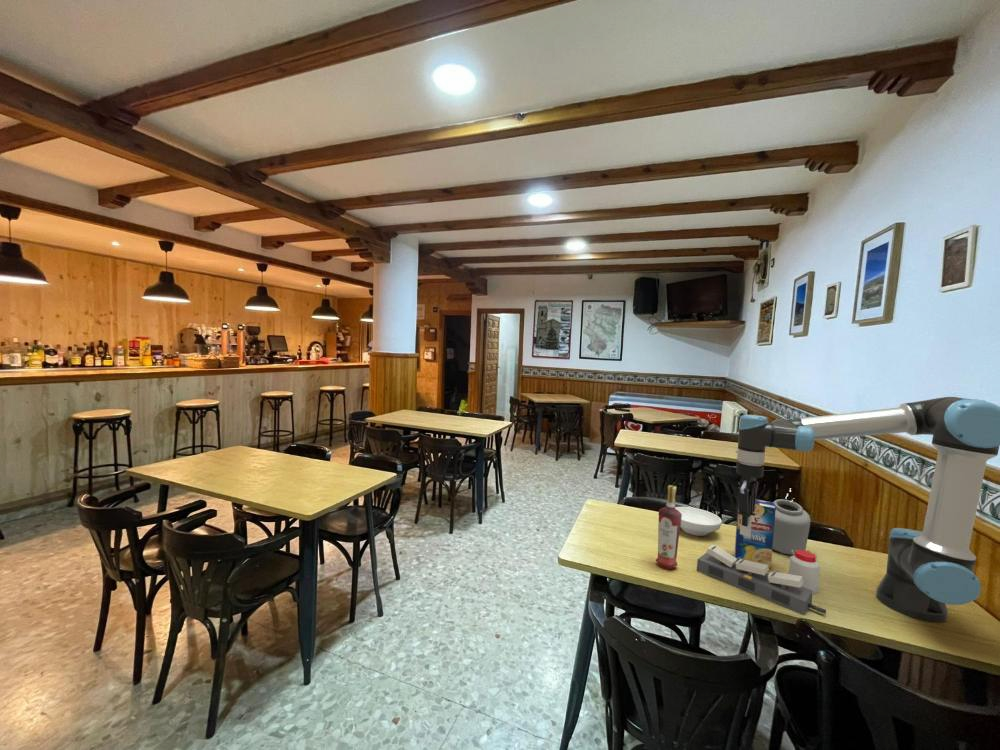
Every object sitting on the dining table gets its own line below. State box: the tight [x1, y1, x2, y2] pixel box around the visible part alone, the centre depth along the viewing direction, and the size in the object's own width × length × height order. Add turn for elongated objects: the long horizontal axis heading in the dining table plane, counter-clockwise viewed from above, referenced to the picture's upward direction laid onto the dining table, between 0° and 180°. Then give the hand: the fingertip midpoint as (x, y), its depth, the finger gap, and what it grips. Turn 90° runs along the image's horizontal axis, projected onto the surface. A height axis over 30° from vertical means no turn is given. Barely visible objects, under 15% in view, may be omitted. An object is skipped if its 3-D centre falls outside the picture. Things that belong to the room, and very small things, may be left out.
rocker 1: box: [706, 544, 737, 567], centre depth 136 cm, size 8×4×2 cm, turn 42°
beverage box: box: [733, 498, 776, 571], centre depth 145 cm, size 7×11×22 cm, turn 61°
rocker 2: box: [736, 559, 770, 575], centre depth 129 cm, size 8×4×2 cm, turn 42°
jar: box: [772, 488, 811, 556], centre depth 156 cm, size 19×15×25 cm
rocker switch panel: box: [696, 552, 827, 616], centre depth 128 cm, size 34×9×5 cm, turn 42°
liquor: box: [655, 484, 682, 570], centre depth 139 cm, size 7×7×28 cm
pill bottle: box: [788, 549, 821, 594], centre depth 130 cm, size 8×8×11 cm
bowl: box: [675, 506, 722, 537], centre depth 169 cm, size 20×20×7 cm
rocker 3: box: [768, 571, 804, 588], centre depth 122 cm, size 8×4×2 cm, turn 42°
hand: (745, 534), depth 131 cm, fingers closed
